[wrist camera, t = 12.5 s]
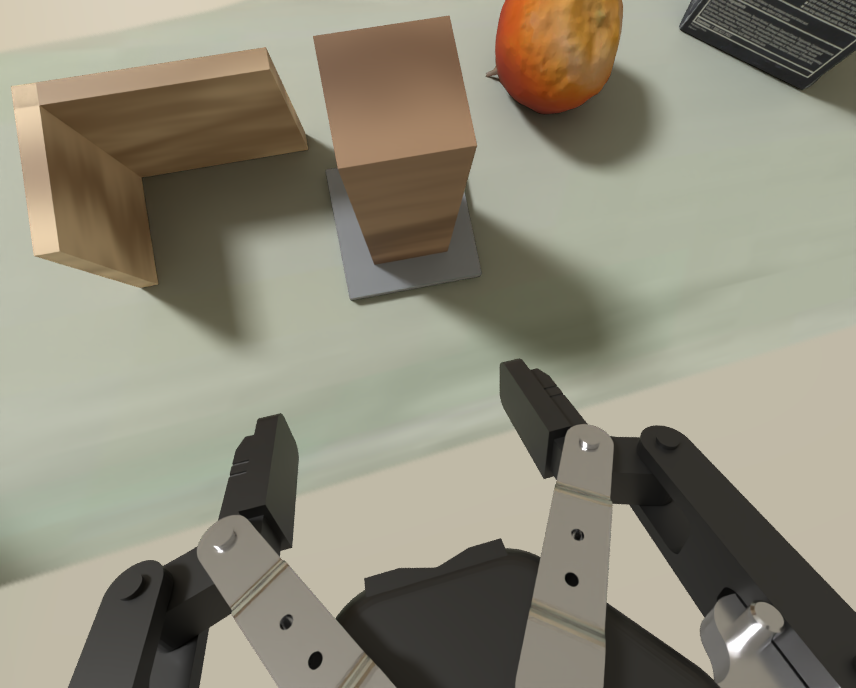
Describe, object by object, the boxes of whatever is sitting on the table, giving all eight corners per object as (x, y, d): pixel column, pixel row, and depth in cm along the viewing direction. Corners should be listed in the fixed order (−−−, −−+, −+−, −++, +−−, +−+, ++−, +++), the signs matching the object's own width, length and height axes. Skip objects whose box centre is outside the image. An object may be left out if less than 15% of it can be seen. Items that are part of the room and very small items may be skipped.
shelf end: (327, 253, 26) (295, 210, 19) (140, 287, 25) (34, 255, 18) (305, 133, 26) (265, 47, 19) (121, 163, 26) (10, 86, 19)
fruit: (507, -25, 26) (607, -121, 19) (564, 75, 30) (664, 25, 23) (442, 64, 25) (522, -2, 19) (510, 154, 29) (596, 127, 23)
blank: (447, 251, 25) (477, 145, 13) (374, 264, 25) (338, 168, 13) (433, 180, 26) (449, 15, 14) (360, 193, 25) (312, 36, 13)
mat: (351, 300, 25) (349, 298, 25) (327, 174, 26) (325, 169, 25) (480, 276, 26) (481, 274, 25) (454, 152, 26) (455, 147, 26)
